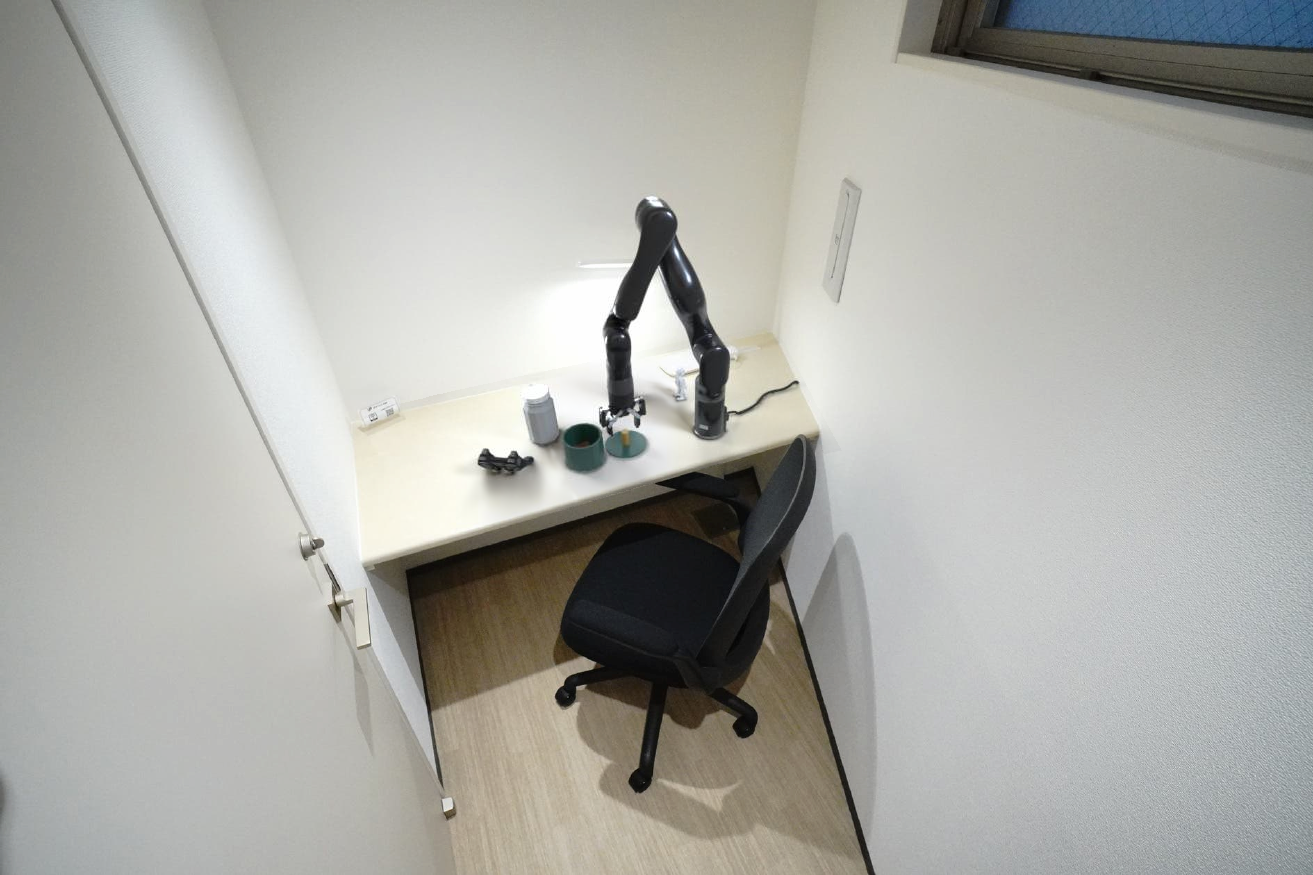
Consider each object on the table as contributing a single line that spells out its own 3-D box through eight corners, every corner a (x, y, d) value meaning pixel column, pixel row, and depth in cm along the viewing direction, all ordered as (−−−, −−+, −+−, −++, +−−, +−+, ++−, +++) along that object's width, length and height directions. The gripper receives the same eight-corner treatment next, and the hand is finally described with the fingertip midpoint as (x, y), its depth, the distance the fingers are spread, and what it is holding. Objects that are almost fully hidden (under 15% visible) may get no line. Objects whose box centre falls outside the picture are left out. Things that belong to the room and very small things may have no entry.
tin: (597, 442, 175) (593, 418, 169) (610, 464, 167) (607, 441, 161) (561, 453, 171) (556, 430, 165) (573, 477, 163) (569, 453, 157)
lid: (636, 428, 180) (635, 414, 176) (653, 451, 171) (652, 437, 167) (600, 440, 176) (598, 425, 172) (615, 464, 167) (613, 450, 163)
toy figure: (673, 392, 193) (672, 363, 186) (682, 391, 194) (682, 362, 186) (678, 402, 189) (678, 373, 181) (687, 401, 189) (687, 371, 182)
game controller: (481, 475, 169) (467, 464, 160) (486, 454, 172) (473, 442, 162) (531, 479, 167) (520, 469, 158) (536, 458, 169) (525, 446, 160)
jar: (566, 432, 179) (558, 386, 168) (547, 449, 173) (537, 404, 161) (543, 423, 183) (533, 378, 172) (523, 440, 177) (512, 394, 165)
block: (589, 451, 171) (587, 440, 168) (594, 460, 168) (592, 449, 165) (575, 456, 170) (574, 445, 167) (580, 464, 167) (579, 454, 164)
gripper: (602, 400, 154) (606, 444, 164) (648, 387, 158) (650, 430, 169) (592, 387, 159) (597, 430, 169) (637, 374, 163) (640, 417, 174)
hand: (624, 430), depth 169 cm, fingers open, 8 cm apart
